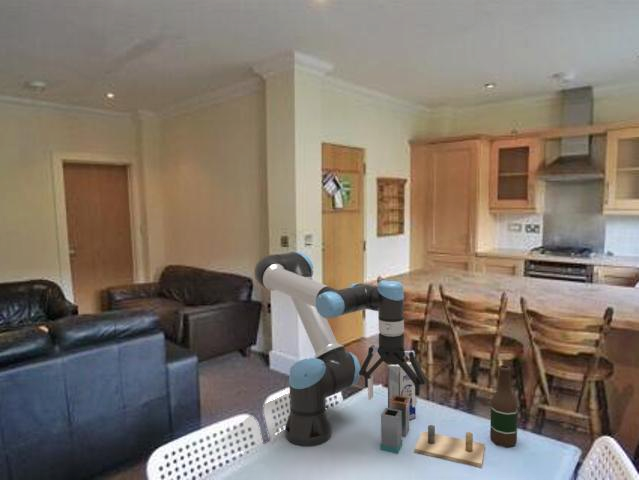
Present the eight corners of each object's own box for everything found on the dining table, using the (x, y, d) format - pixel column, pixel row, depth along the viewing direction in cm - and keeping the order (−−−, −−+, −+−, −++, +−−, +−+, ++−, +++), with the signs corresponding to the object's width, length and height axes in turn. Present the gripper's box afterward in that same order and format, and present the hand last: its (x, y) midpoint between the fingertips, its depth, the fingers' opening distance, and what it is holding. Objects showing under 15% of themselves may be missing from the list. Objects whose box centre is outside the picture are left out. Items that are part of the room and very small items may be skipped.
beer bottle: (520, 449, 131) (521, 372, 129) (492, 447, 132) (493, 370, 130) (513, 436, 138) (515, 362, 136) (488, 433, 140) (489, 361, 138)
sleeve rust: (389, 433, 141) (389, 401, 140) (394, 426, 146) (393, 394, 145) (406, 437, 139) (406, 404, 138) (410, 429, 143) (410, 397, 143)
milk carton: (400, 423, 147) (399, 366, 146) (387, 415, 153) (387, 360, 152) (415, 418, 151) (415, 362, 149) (403, 410, 157) (403, 356, 155)
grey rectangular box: (380, 449, 132) (380, 415, 131) (385, 441, 137) (385, 407, 136) (397, 453, 130) (397, 418, 129) (402, 444, 134) (402, 410, 134)
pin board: (414, 452, 130) (414, 432, 130) (422, 434, 140) (422, 416, 140) (481, 467, 122) (482, 446, 122) (484, 447, 132) (485, 428, 132)
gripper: (347, 332, 132) (349, 399, 134) (431, 341, 121) (431, 414, 123) (356, 325, 139) (357, 390, 140) (435, 333, 128) (436, 403, 130)
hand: (392, 401), depth 132 cm, fingers open, 13 cm apart
